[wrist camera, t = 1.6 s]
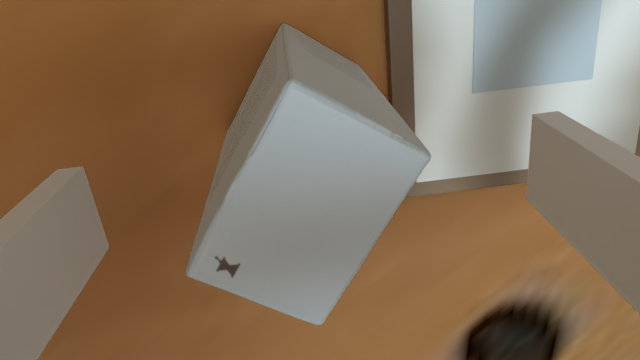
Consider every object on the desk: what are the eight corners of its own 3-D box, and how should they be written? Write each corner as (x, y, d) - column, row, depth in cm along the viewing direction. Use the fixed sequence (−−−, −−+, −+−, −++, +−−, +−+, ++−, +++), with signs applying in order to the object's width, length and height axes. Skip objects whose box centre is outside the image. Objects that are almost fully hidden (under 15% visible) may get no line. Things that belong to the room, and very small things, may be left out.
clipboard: (393, 191, 26) (399, 203, 24) (374, -213, 19) (380, -225, 17) (639, 161, 26) (658, 171, 25) (711, -249, 19) (742, -264, 18)
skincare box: (303, 170, 25) (319, 335, 14) (225, 133, 24) (175, 280, 13) (365, 62, 23) (440, 157, 12) (283, 16, 22) (282, 74, 11)
